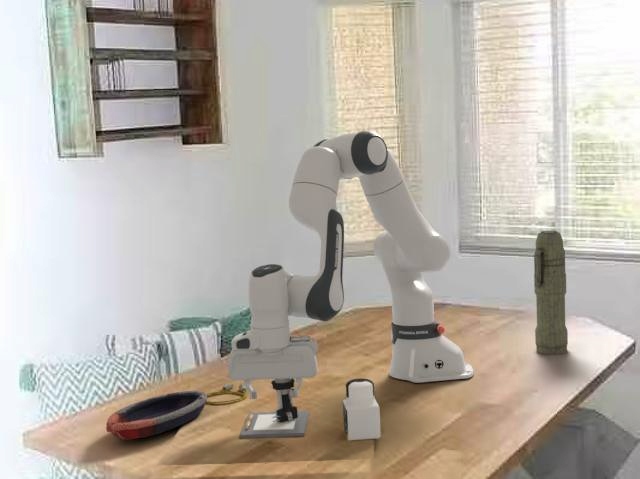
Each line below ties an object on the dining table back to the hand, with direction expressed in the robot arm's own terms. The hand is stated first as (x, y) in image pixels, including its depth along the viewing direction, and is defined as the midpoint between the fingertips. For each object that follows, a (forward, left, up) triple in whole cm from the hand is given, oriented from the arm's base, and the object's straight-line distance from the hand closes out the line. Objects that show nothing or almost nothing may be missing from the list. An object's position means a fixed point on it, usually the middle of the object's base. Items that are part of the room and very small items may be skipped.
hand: (274, 397), depth 202 cm
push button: (-2, 0, -6) cm, 6 cm away
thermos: (-74, -58, -7) cm, 94 cm away
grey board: (0, 0, -6) cm, 6 cm away
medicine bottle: (-20, +8, -7) cm, 22 cm away
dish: (+28, -4, -7) cm, 29 cm away
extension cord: (+15, -25, -7) cm, 30 cm away
